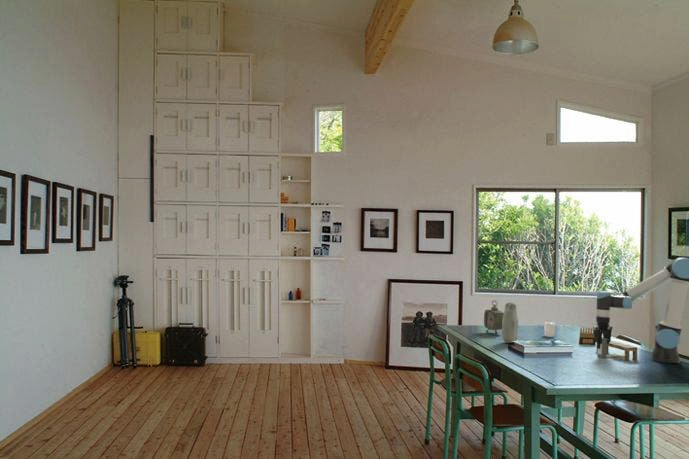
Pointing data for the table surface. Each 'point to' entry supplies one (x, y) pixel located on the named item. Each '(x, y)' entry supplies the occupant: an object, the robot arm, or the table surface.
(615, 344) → the low bench
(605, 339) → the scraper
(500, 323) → the tabletop clock
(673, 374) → the table surface
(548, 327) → the white cup
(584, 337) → the ammunition clip
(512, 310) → the beige vase
